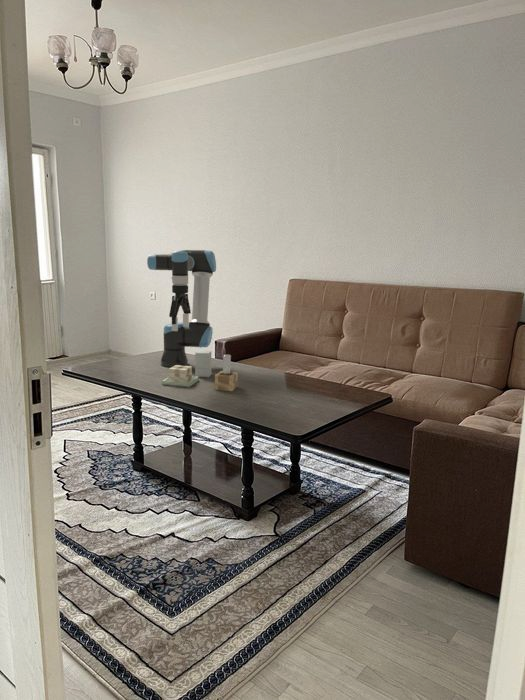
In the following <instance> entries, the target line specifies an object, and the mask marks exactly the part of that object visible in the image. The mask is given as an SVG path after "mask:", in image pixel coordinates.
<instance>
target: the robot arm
mask: <svg viewBox="0 0 525 700" xmlns="http://www.w3.org/2000/svg"><path fill="white" fill-rule="evenodd" d="M146 261H147V263H146V264H147V268H148V269H149V270H152V271H171V273H172V274H171V280H172V281H171V282H172V286H171V290H172V291H171V292H172V293H173V294H175V295H172V296H171V304H170V309H169V315H168V316H169V318H171V323H168V324H165V325H164V326H163V353H162V356H161V359H160V366H162V367H167V368H171V367H173V366H175V365H181V366H189V359H188V356H187V353H186V348H187V347H188V348H189V347H190V348H208V347H209V346H210V344H211V342H212V339H213V329H214V328H213V327H212V326H211V324H210V322H209V321H208V313H209V301H210V300H209V297H210V294H209V293H210V283H211V281H210V279H211V277H213V276H214V273H216V270H217V262H216V261H217V260H216V256H215V253H214V252H213V251H212V250H206V249H204V250H203V249H201V250H200V249H199V250H197V249H195V250H194V249H184V250H179V251H172V252H171V253H168V254H167V253H164V254H163V253H162V254H157V253H154V254H149V255H148V256H147V259H146ZM189 272H191V274H192V276H193V277H194V278H193V293H192V311H191V305H190V300H189V294H188V293H189V285H188V284H189ZM180 307H181V309H182V312H183V313H182V322H179V321H178V318H179V317H177V316H178V314H179V310H180ZM190 314H191V320H190V321H189V319H190V318H189V315H190ZM185 347H186V348H185Z"/></svg>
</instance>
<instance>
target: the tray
mask: <svg viewBox="0 0 525 700" xmlns="http://www.w3.org/2000/svg"><path fill="white" fill-rule="evenodd" d="M199 379H200V378H199V377H196V375H194V376H193V375H192V380H191V381H189V382H188V383H185V382H174V381H169V376H168V377H165V379H162V380H161V386H170V387H171V386H172V387H181V388H189V387H191V386H192V385H194V384H197V382H199Z"/></svg>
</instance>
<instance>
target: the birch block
mask: <svg viewBox="0 0 525 700" xmlns="http://www.w3.org/2000/svg"><path fill="white" fill-rule="evenodd" d="M192 376H193V367H192V366H191V365H186V366H181V365H175V366H173V367H168V377H169V381H174V382H185V383H188V382H189V381H191V380H192Z"/></svg>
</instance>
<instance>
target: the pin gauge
mask: <svg viewBox="0 0 525 700" xmlns="http://www.w3.org/2000/svg"><path fill="white" fill-rule="evenodd" d="M222 358H223V359H222V371H223V375H228V376H230V372H231V364H232V363H231V362H232V361H231V359H232V355H231V354H223V356H222Z"/></svg>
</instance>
